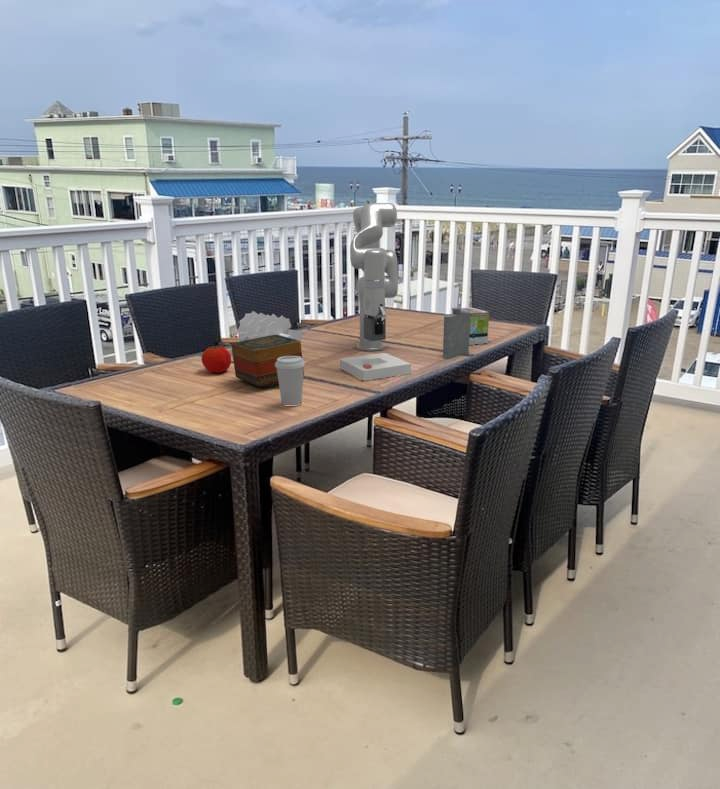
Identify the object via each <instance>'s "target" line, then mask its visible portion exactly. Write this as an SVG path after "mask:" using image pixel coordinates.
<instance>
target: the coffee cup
mask: <svg viewBox="0 0 720 789" xmlns="http://www.w3.org/2000/svg"><path fill="white" fill-rule="evenodd" d="M302 358H303V356H302V357H299V356H283V357H279V358H278V359H277V362H276V363H275V367H276V368H277V374H278V381H279V383H278V387H279V394H280V400H281V405H282V404H284V405H298V404H301V403H302V404H303V391H304V390H303V387H304V376H303V369H304V370H305V366H306V363H305V361H304V359H302ZM302 404H301V405H302Z"/></svg>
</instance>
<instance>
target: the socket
mask: <svg viewBox="0 0 720 789" xmlns="http://www.w3.org/2000/svg"><path fill="white" fill-rule="evenodd" d="M339 369H340V370H341V369H342V370H341V371H343V370H344V371H343V372H345V371H346V372H345V373H347V372H348V373H347V374H349V373H350V374H352V375H354V376H356V377H358V378H360V379H362V380H370V381H373V380H372V379H377V380H379V379H378V378H383V379H386V378H385V377H389V378H392V377H391V376H396V377H399V376H398V375H402V376H407V375H406V374H409V375H412V363H411V362H410V363H409V362H407V361H405V360H403V359H400V358H398V357H397V356H393V355H391V354H389V353H387V352H381V353H380V352H379V353H373V354H367V355H359V356H351V357H344V358H340V359H339ZM350 374H349V375H350ZM352 375H351V376H352ZM354 376H353V377H354ZM356 377H355V378H356ZM358 378H357V379H358ZM360 379H359V380H360ZM362 380H361V381H362Z"/></svg>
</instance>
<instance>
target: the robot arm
mask: <svg viewBox="0 0 720 789" xmlns="http://www.w3.org/2000/svg"><path fill="white" fill-rule="evenodd" d="M352 217H353V218H352V219H353V225H354V228H355V230H356V234H355V235H354V237H353V238H352V239H351V242H350V246H349V256H350V261H349V262H350V264H351V266H352V268H354V269H357V270H359V269H360V270H361V271H362V272H363V276H362V277H360V278H358V280H357V284H356V287H357V288H356V289H357V294H358V296H357V297H358V304H359V337H358V341H359V343H358V344H356V349H357V350H359V351H364V352H377V351H382V350H384V349H385V348H386V345H385V344H384V343H382V340H378V341H370V340H367V339H364V317H375V321H376V324H375V335H381V334H383V324H384V320H385V318H386V317H387V313H386V299H393V298H395V297H397V295H398V290H399V281H398V280H399V276H398V273H399V272H398V270H399V268H398V257H397V253H396V251H395V250H392V249H385V248H381V246H380V239H381V238H382V237H383V234H384V231H383V228H392V227H394V226H395V224H397V219H398V211H397V207H396V205H395V204H394V203H391V202H372V203H371V202H370V203H366V204H364V205H363V206H359V207H356V208H355V209H354V210H353V212H352ZM385 274H386V275H385ZM379 317H380V318H379ZM378 318H379V319H378Z"/></svg>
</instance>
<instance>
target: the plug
mask: <svg viewBox="0 0 720 789" xmlns="http://www.w3.org/2000/svg"><path fill="white" fill-rule="evenodd" d="M379 318H380V317H379ZM379 318H378V319H379ZM386 320H387V319H386V317H385V320H384V324H383V334H381V335H375V324H376V321H375V317H364V339H367V340H370V341H378V340H381V341H385V340H387V339H386V336H387V335H386V331H387V330H386V327H387V326H386Z"/></svg>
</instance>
